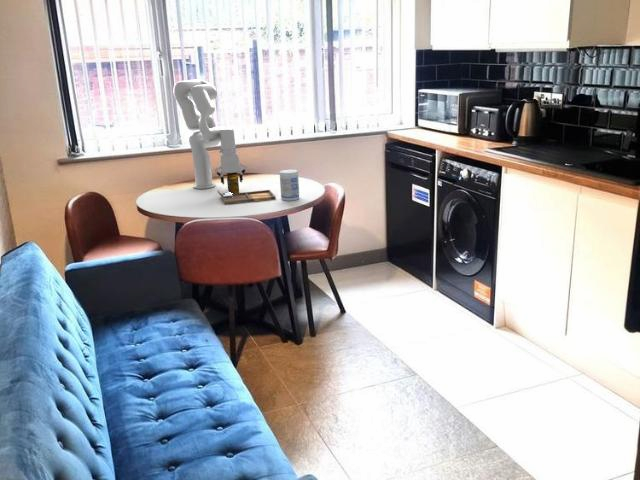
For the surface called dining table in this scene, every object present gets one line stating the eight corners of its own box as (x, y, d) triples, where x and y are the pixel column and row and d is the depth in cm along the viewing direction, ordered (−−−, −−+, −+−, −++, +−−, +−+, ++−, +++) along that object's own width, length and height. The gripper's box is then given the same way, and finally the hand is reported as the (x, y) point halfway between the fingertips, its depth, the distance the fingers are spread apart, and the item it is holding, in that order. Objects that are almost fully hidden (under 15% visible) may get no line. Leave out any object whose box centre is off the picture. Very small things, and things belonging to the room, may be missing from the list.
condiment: (242, 193, 322) (240, 172, 318) (228, 196, 318) (226, 174, 314) (236, 191, 328) (234, 169, 324) (222, 193, 324) (220, 172, 320)
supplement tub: (295, 201, 301) (294, 173, 297) (278, 201, 304) (276, 173, 299) (302, 197, 310) (300, 169, 305) (285, 196, 313) (283, 169, 308)
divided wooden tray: (221, 197, 316) (221, 194, 315) (269, 192, 322) (269, 189, 322) (224, 204, 301) (224, 202, 300) (275, 199, 307) (275, 196, 307)
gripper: (213, 154, 310) (216, 186, 315) (245, 150, 314) (249, 182, 319) (211, 152, 317) (215, 183, 322) (243, 148, 321) (246, 179, 326)
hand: (232, 182), depth 320 cm, fingers open, 9 cm apart
